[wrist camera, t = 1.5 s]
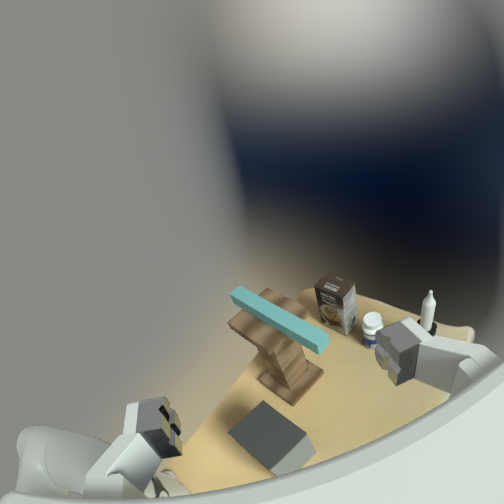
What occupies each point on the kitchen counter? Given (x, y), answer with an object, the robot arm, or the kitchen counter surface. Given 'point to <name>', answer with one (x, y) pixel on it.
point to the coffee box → (337, 303)
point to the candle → (428, 315)
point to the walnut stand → (279, 350)
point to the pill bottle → (371, 329)
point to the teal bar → (281, 320)
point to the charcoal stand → (273, 440)
